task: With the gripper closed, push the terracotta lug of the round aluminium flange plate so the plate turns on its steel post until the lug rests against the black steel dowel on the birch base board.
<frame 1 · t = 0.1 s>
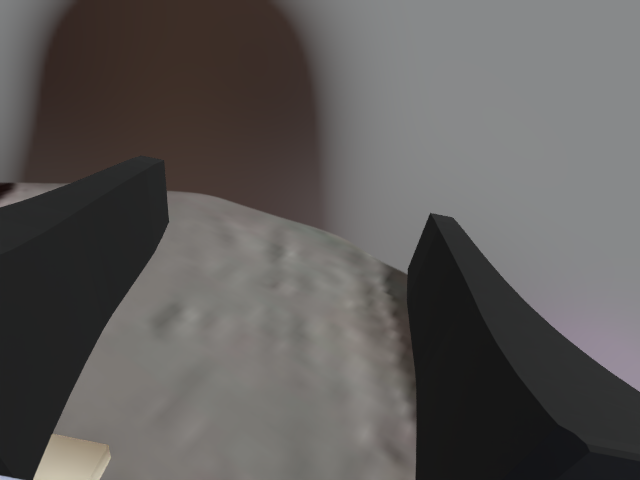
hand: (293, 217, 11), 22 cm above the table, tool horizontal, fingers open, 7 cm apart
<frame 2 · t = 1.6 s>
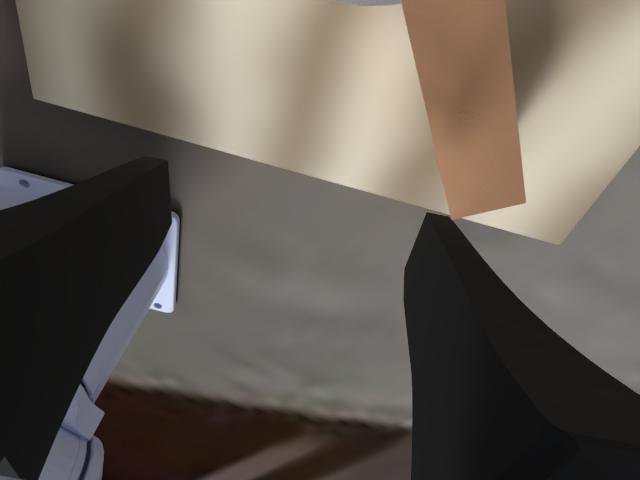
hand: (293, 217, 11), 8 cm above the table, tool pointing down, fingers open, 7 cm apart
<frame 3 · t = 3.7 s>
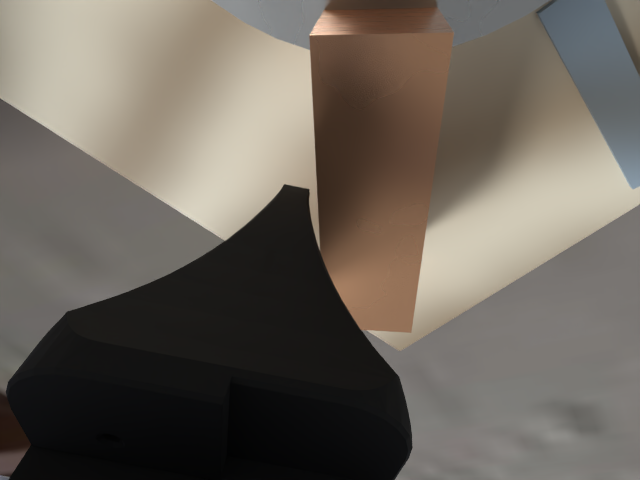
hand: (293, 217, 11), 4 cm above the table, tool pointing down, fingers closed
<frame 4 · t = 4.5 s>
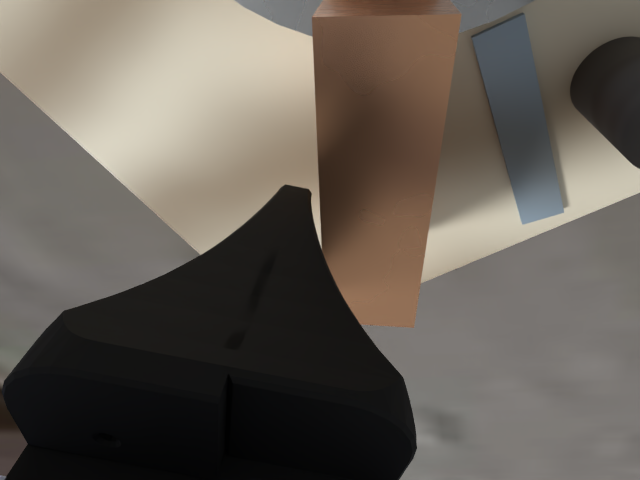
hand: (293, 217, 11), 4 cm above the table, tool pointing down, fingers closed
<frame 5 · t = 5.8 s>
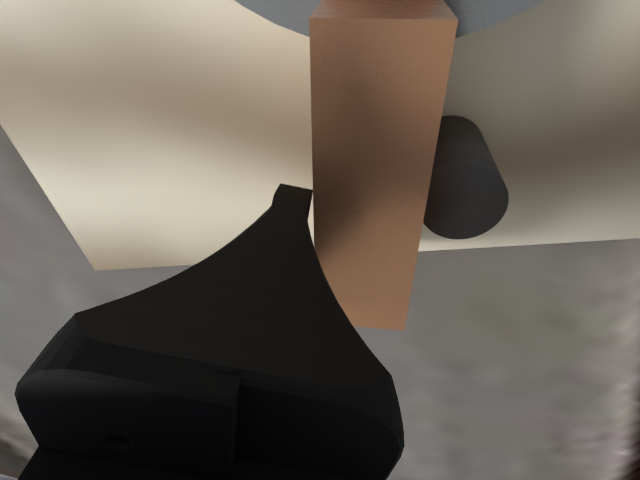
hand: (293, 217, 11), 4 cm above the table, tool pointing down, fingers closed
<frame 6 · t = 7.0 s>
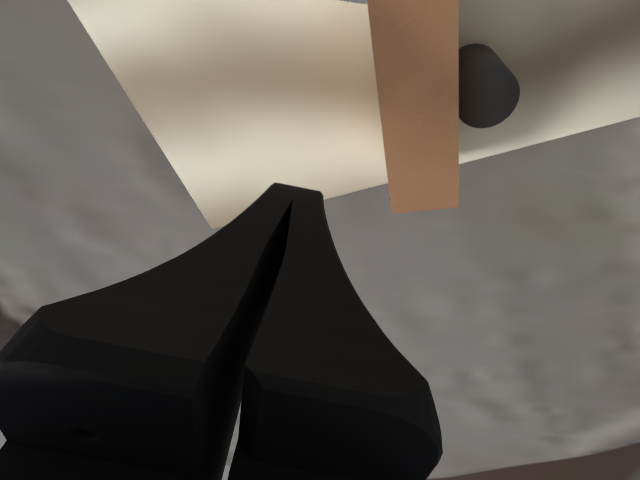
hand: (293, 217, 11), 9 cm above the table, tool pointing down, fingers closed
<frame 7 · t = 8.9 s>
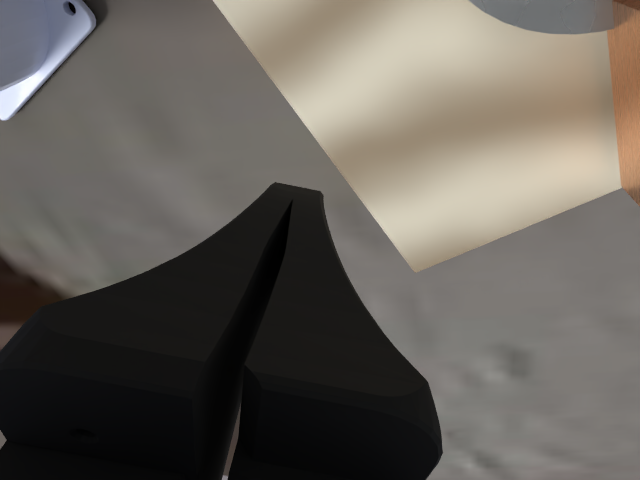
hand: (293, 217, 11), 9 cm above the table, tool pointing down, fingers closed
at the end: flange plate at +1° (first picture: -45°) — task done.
